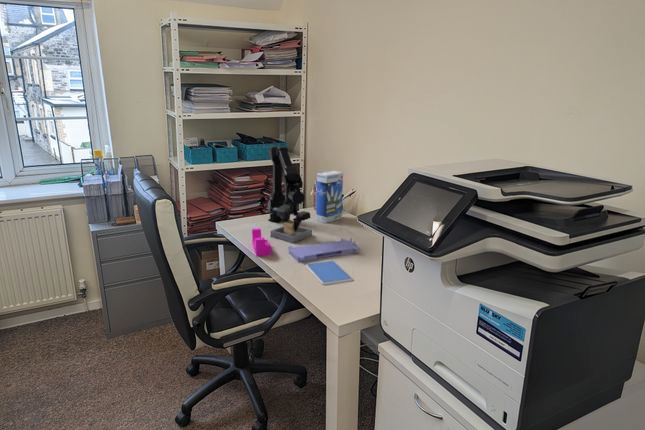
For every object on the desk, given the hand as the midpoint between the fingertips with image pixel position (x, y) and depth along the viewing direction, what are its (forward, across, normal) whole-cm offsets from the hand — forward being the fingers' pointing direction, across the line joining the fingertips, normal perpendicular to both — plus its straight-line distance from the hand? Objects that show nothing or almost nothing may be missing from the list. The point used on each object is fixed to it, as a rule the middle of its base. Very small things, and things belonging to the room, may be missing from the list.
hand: (291, 230), depth 206 cm
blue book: (+4, +38, -23) cm, 45 cm away
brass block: (+1, 0, 0) cm, 1 cm away
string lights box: (+3, -2, +34) cm, 34 cm away
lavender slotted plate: (+4, +25, -7) cm, 26 cm away
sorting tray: (+3, 0, 0) cm, 3 cm away
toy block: (+4, +1, -22) cm, 22 cm away
